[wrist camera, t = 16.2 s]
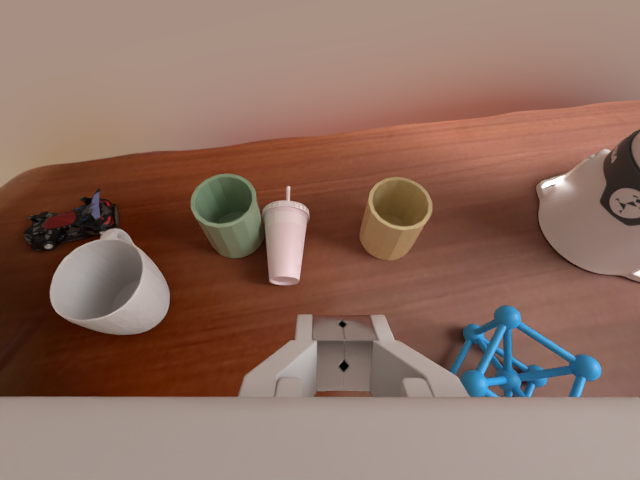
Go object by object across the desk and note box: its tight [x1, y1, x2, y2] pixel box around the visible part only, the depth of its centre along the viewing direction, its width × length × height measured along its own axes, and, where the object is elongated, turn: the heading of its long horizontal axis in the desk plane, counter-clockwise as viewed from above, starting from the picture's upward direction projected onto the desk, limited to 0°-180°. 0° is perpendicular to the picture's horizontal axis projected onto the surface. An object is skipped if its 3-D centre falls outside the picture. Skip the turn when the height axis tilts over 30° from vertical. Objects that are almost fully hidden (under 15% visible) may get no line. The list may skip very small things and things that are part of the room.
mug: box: [50, 228, 170, 335], centre depth 38 cm, size 13×9×10 cm
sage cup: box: [191, 174, 265, 258], centre depth 43 cm, size 8×8×8 cm
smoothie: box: [262, 186, 310, 285], centre depth 43 cm, size 6×6×14 cm
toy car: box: [23, 188, 119, 251], centre depth 44 cm, size 6×12×4 cm, turn 109°
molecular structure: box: [449, 305, 601, 397], centre depth 34 cm, size 10×10×10 cm
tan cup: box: [359, 177, 433, 260], centre depth 43 cm, size 8×8×8 cm
